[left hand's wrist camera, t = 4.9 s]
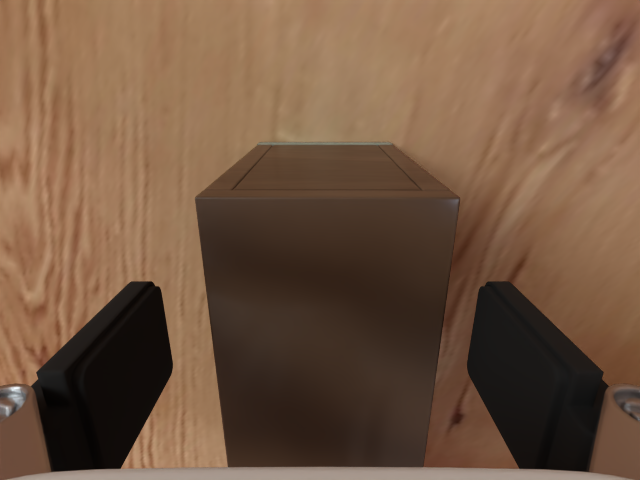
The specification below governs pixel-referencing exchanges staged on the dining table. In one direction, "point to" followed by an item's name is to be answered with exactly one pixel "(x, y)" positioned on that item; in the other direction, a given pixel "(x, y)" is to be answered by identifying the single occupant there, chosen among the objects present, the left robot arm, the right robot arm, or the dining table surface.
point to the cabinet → (326, 302)
